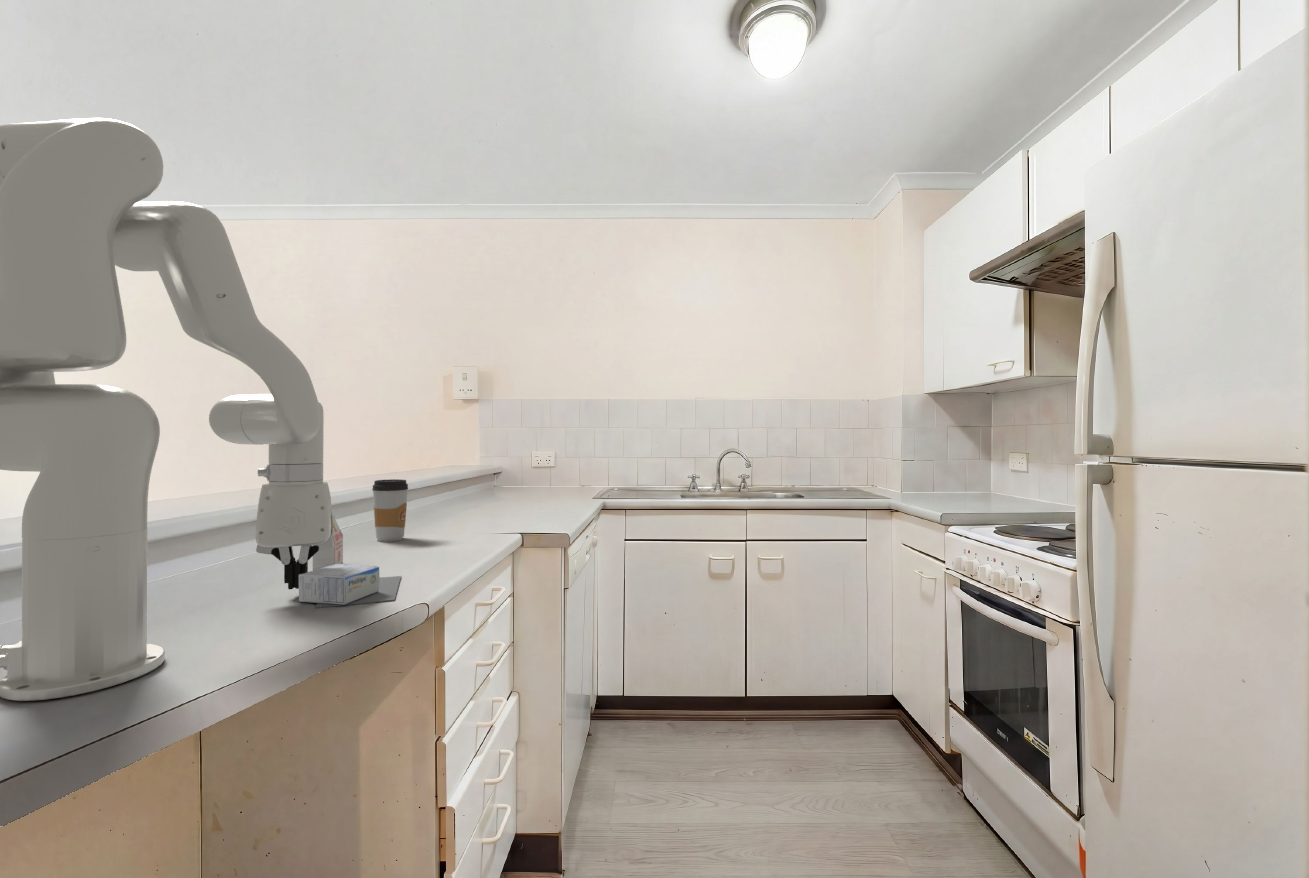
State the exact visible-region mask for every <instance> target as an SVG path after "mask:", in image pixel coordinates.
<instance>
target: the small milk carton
mask: <svg viewBox="0 0 1309 878" xmlns="http://www.w3.org/2000/svg"><path fill="white" fill-rule="evenodd" d="M332 518H333V533H332V538H333V541H334V546H333V547H332V548H331V549H327V550H324V551H320V552H317V553H316V554H314V555H313V556H312V571H314V570H317V569H320V568H324V567H327V566H331V565H334V564H344V534H343V532H342V530H341V528H340V526H339V525H338V522H337V520H336V517H335V515H332Z"/></svg>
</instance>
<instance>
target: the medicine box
mask: <svg viewBox="0 0 1309 878" xmlns="http://www.w3.org/2000/svg"><path fill="white" fill-rule="evenodd" d="M379 578H380V566H378V565H369V564H366V565H365V564H350V563H343V564H334V565H331V566H327V567H324V568H320V569H317V570H314V571H313V570H311V571H308V572H307V573H303V574H299V589H298V602H300V603H301V602H302V603H313V604H314V603H315V604H317V603H327V604H342V606H346V605H345V604H348V603H350V602H353V601H355V600H358V599H361V598H363V597H366V596H368V595H371V594H374V593H376V592H379Z"/></svg>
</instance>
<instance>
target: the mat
mask: <svg viewBox="0 0 1309 878" xmlns="http://www.w3.org/2000/svg"><path fill="white" fill-rule="evenodd" d="M401 578H402V576H401V575H398V576H397V575H396V576H395V575H394V576H384V577H381V576H380V577H379V592H376V593H374V594H371V595H368V596H366V597H363V598H361V599H358V600H355V601H353V602H350V603H348V604H345V605H344V606H352V605H362V604H363V605H364V604H372V603H373V604H375V603H376V604H377V603H385V602H386V601H387V602H394V600H395V599H396V598H397V594H396V593H398V590H399V586H400V584H401V583H400V582H401ZM341 606H343V605H342V604H327V603H316V604H315V606H314V608H315V609H318V608H329V607H341Z"/></svg>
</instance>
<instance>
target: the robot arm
mask: <svg viewBox="0 0 1309 878" xmlns="http://www.w3.org/2000/svg"><path fill="white" fill-rule="evenodd" d="M163 176H164V162H163V157H162V154H161V150H160V148H159V147H158V144H157V143H156V142H155V141H154V140H153V139H152V137H150V136H149V134H147V132H145V131H144V130H142V129H141V128H139V127H137V126H135V125H133V124H131V123H128V122H124V121H121V120H117V119H112V118H107V117H106V118H104V117H103V118H102V117H88V118H69V119H58V120H49V121H30V122H14V123H7V124H2V125H0V470H1V471H9V472H35V473H36V472H38V473H39V474H38V475H37V478H36V479H35V482H33V483H34V484H33V486H32V488H31V489H30V491H29V493H28V496H27V498H26V501H25V502H24V503H25V504H24V507H23V511H22V518H21V640H20V641H19V642H17V643H14V644H9V645H8V644H0V669H1V668H3V670H5V671H7V672H6V673H7V674H6V676H4V677H3V678H2V679H0V698H2V699H5V700H10V701H16V702H29V701H30V702H31V701H45V700H52V699H59V698H61V699H62V698H65V697H66V698H67V697H73V696H78V695H82V694H87V693H91V692H95V691H99V690H103V689H107V688H110V687H114V686H117V685H120V684H123V683H125V682H126V683H127V682H129V681H131V680H134V679H136V678H139V677H142V676H144V675H146V674H148V673H150V672H152V671H154V670H155V669H157V668H158V667H160V666H161V665H162V664H163V663H164V661H165V658H166V651H165V648H163V647H162V646H160V645H157V644H153V643H148V637H147V636H148V506H149V505H148V504H149V503H148V502H149V501H148V500H149V489H150V488H149V487H150V480H151V474H152V470H153V465H154V463H155V457H156V453H157V450H158V447H159V442H160V436H161V435H160V434H161V430H160V429H161V427H160V422H159V421H160V420H159V417H158V414H157V413H156V411H155V410H154V409H153V407H152V406H151V404H149V403H148V402H147V401H146V399H144V398H143V397H141V396H139V395H137V394H136V393H134V392H131V391H129V390H127V389H124V388H121V387H116V386H110V385H107V384H106V385H105V384H95V383H94V384H90V383H88V384H87V383H85V384H83V383H81V384H80V383H79V384H78V383H77V384H75V383H73V384H69V383H68V384H64V383H63V384H61V383H59V384H58V383H57V384H56V377H55V372H56V373H58V372H59V373H60V372H61V373H62V372H64V373H66V372H73V373H74V372H84V371H85V372H86V371H94V370H101V369H104V368H107V367H109V366H113V365H114V364H115V363H117V362H118V361H119V360H121V358H122V357H123V355H124V354H125V351H126V348H127V332H126V331H127V329H126V323H125V316H124V312H123V306H122V300H121V293H120V289H119V288H120V287H119V283H118V281H119V280H118V277H117V271H116V270H117V269H116V267H117V268H120V269H123V270H127V271H132V272H158V274H159V276H160V279H161V281H162V283H163V285H164V289H165V290H166V293H167V295H168V297H169V299H170V301H171V304H172V307H173V309H174V312H175V314H176V316H177V319H178V321H179V323H180V326H181V328H182V330H183V332H184V333H185V334H186V335H187V336H189V337H190V338H191V339H194V341H195V340H196V342H197V341H198V342H199V343H202V344H204V345H206V346H208V347H211V348H212V349H214V350H217V351H219V352H221V353H224V354H226V355H228V356H230V357H232V358H234V359H235V360H238V361H240V362H241V363H243V364H244V365H246V366H247V367H248V368H250V369H251V370H253V372H254V373H256V374H257V375H258V376H259V378H260V379H261V380H262V381H263V383H264V384H265V385H266V387H267V388H268V390H269V392H270V393H257V394H256V393H253V394H251V393H250V394H249V393H248V394H234V395H230V396H227V397H223V398H221V399H220V400H218V401H217V402H216V403H215V404H214V405H213V406H212V407H211V409H210V412H209V415H208V423H209V426H210V429H211V430H212V431H213V433H214V434H215V435H216V436H217V437H219V438H220V439H221V440H223V441H226V442H228V443H233V444H237V445H257V446H258V445H262V446H263V445H268V463H267V465H266V466H265V467H260V468H259V467H258V468H257V476H258V477H263V478H266V481H268V483H263V484H262V485H261V488H260V493H259V497H258V504H257V513H256V514H257V515H256V523H255V542H256V544H257V546H256V548H255V551H256V553H258V554H263V555H272V556H273V557H275V558H276V559H277V560H278V561H280V562H281V564H282V565H283V566H284V568H283V571H284V572H283V574H284V575H283V577H284V578H283V582H284V584H287V590H293V589H296V590H299V574H303V573H307V572H309V565H308V564H309V560H310V559H311V558H313V555H314V554H316V553H317V552H320V551H324V550H327V549H331V548H332V547H333V546H334V541H333V538H332V533H333V518H332V516H333V508H332V506H333V505H332V497H331V492H330V487H329V483H328V482H327V481H324V424H325V423H324V416H325V415H324V413H325V412H324V406H323V404H322V403H321V402H319V400H318V397H317V394H316V390H315V387H314V384H313V381H312V379H311V378H312V377H311V375H310V374H309V372H308V370H307V369H306V366H305V365H304V364H303V362H302V361H301V360H300V359H299V358H298V356H297V355H296V354H295V353H294V352H293V351H292V350H291V349H290V348H289V347H288V346H287V344H285V342H284V341H283V340H281V339H280V338H279V337H278V336H277V335H275V333H273V332H272V330H271V331H270V330H269V328H267V327H266V326H265V325H263V323H262V322H261V321H260V320H259V319H258V316H257V314H256V312H255V309H254V308H255V307H254V305H253V303H252V300H251V297H250V294H249V292H248V288H247V287H246V286H247V285H246V283H245V281H244V278H243V274H242V272H241V269H240V266H239V264H238V262H237V259H236V256H235V255H236V254H235V253H234V250H233V247H232V245H231V241H230V238H229V236H228V233H227V231H226V229H225V226H224V225H223V223H222V221H221V220H220V218H219V217H218V216H217V214H215V213H213V212H212V211H211V209H208V208H207V207H204V206H201V205H198V204H194V203H190V202H185V201H174V200H173V201H172V200H170V201H168V200H165V201H164V200H161V201H158V200H157V201H143V200H145V199H147V198H148V197H150V196H151V195H152V194H153V193H154V192H155V191H157V189H158V188H159V186H160V184H161V182H162V179H163ZM297 546H298V547H300V549H299V554H298V555H299V556H298V559H297V560H296V558H295V555H294V549H293V547H297Z"/></svg>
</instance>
